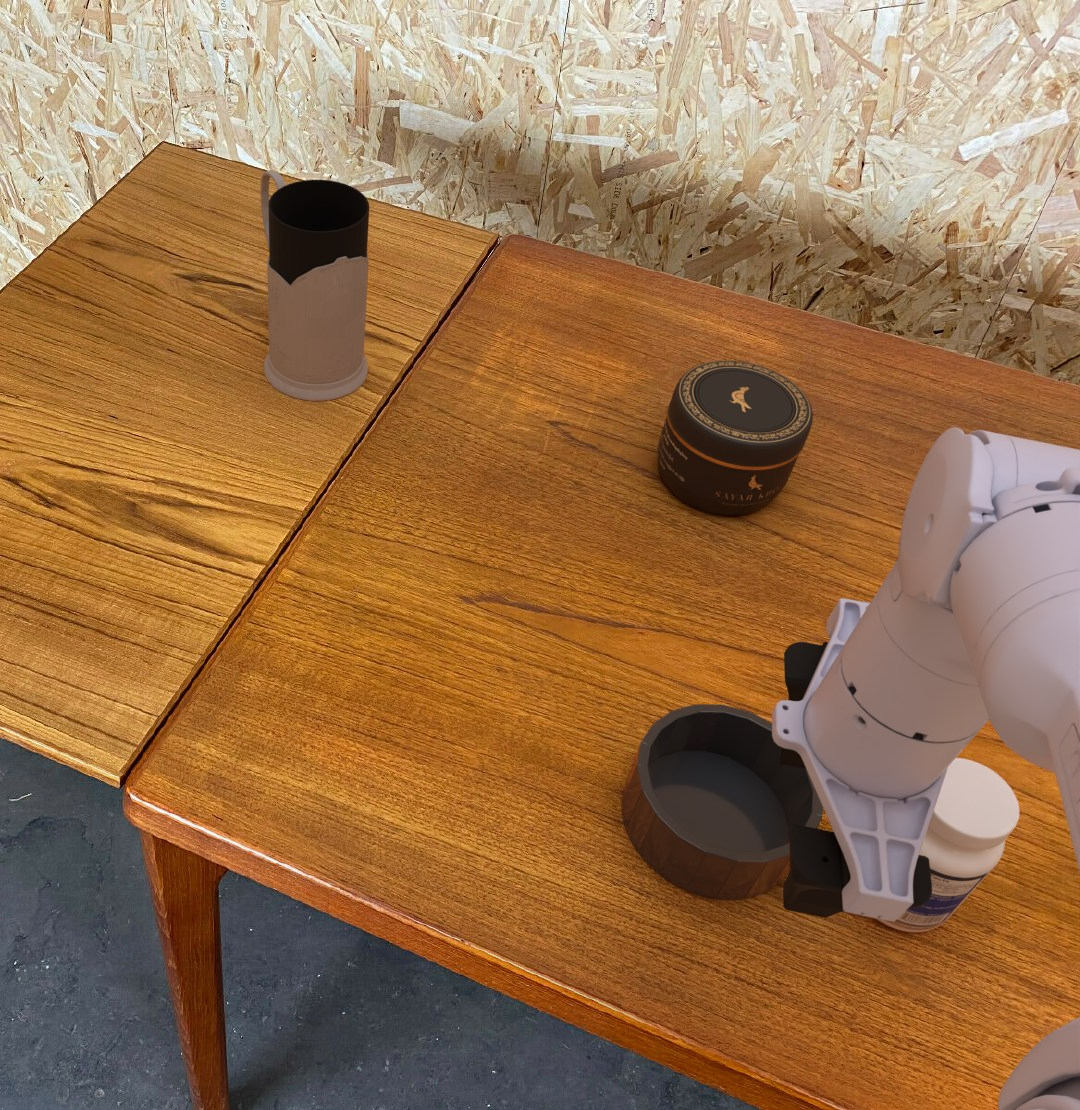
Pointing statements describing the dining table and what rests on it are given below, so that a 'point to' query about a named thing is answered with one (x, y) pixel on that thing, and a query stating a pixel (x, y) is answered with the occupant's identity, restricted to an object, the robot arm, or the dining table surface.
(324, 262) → the glass holder
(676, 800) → the bowl
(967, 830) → the pill bottle
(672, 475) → the jar
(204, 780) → the dining table surface
